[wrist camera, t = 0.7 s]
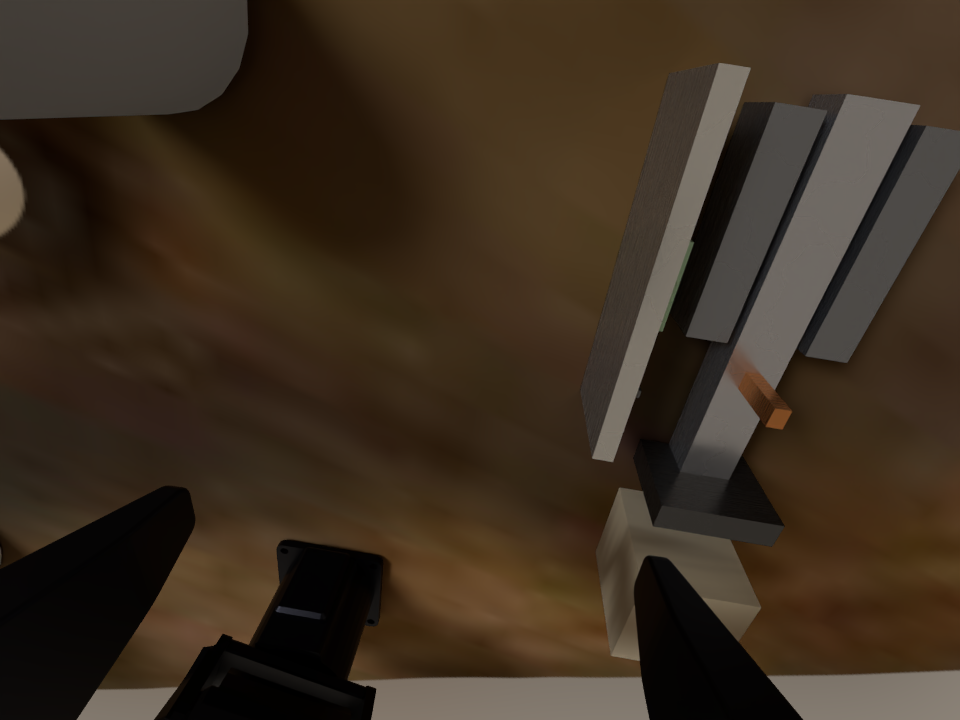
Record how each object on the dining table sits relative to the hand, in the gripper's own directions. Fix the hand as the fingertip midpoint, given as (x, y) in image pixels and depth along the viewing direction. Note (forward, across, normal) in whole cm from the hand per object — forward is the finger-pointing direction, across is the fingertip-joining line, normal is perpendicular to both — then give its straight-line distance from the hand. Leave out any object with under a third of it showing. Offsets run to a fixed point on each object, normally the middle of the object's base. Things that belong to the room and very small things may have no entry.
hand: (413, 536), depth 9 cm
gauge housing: (+13, -10, -3) cm, 17 cm away
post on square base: (+13, -11, -1) cm, 17 cm away
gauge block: (+14, -11, +12) cm, 21 cm away
